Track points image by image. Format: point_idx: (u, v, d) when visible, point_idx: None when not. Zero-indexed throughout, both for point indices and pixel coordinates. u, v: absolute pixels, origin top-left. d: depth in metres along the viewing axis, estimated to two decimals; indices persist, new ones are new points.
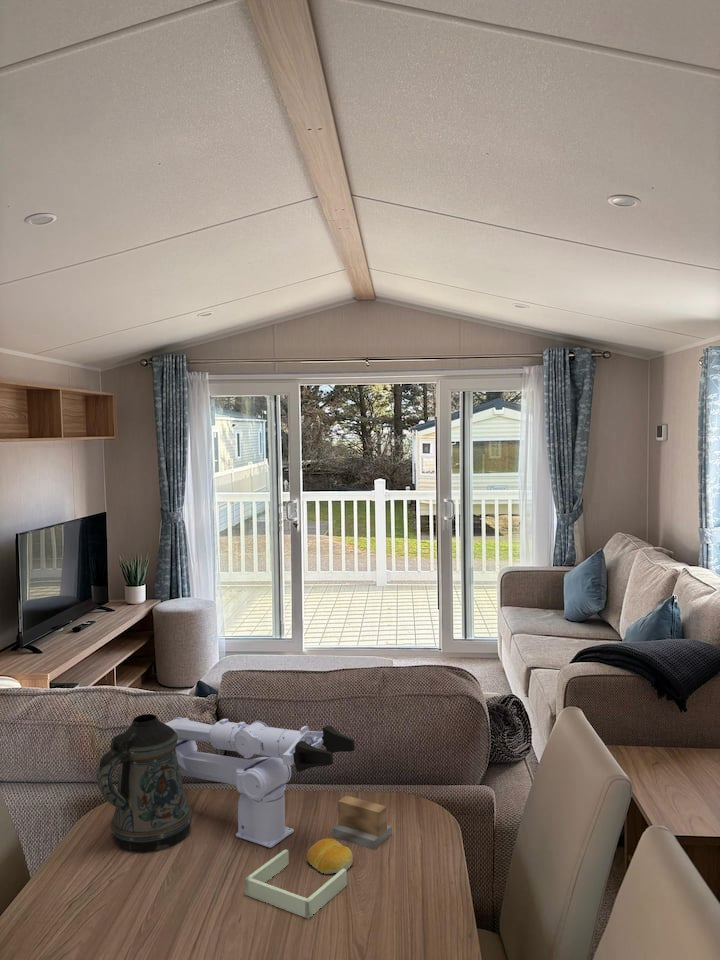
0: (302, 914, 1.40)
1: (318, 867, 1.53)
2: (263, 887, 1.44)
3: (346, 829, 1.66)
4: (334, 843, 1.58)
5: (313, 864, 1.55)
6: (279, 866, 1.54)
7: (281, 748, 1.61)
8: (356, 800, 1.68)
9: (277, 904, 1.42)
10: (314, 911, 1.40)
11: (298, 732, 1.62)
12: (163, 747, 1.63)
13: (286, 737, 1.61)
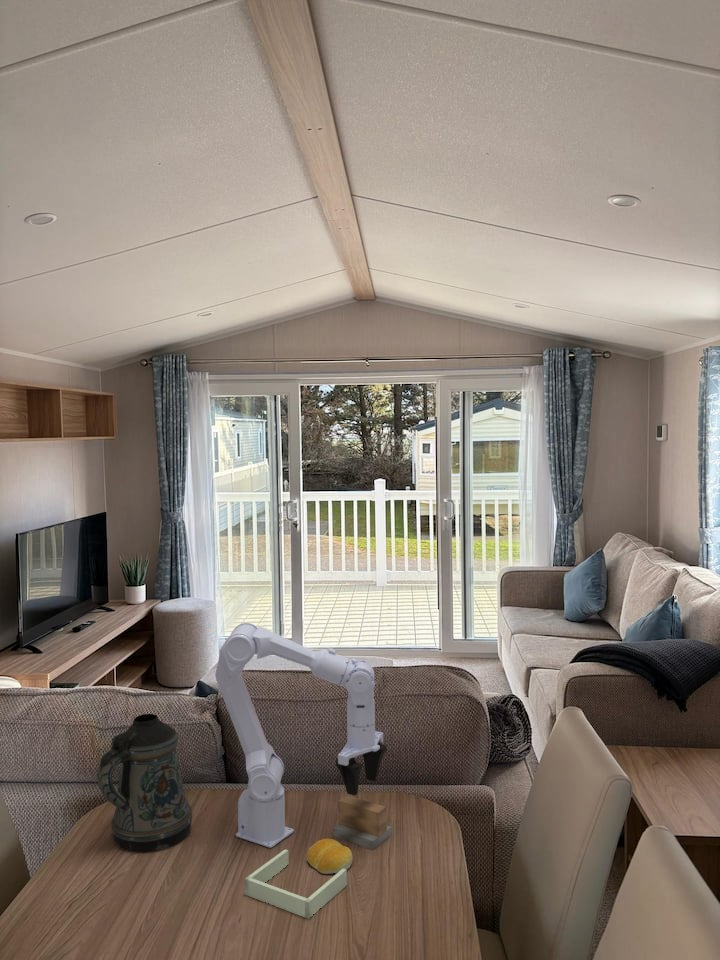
0: (302, 914, 1.40)
1: (318, 867, 1.53)
2: (263, 887, 1.44)
3: (346, 829, 1.66)
4: (334, 843, 1.58)
5: (313, 864, 1.55)
6: (279, 866, 1.54)
7: (354, 730, 1.63)
8: (356, 800, 1.68)
9: (277, 904, 1.42)
10: (314, 911, 1.40)
11: (372, 741, 1.64)
12: (163, 747, 1.64)
13: (365, 733, 1.63)
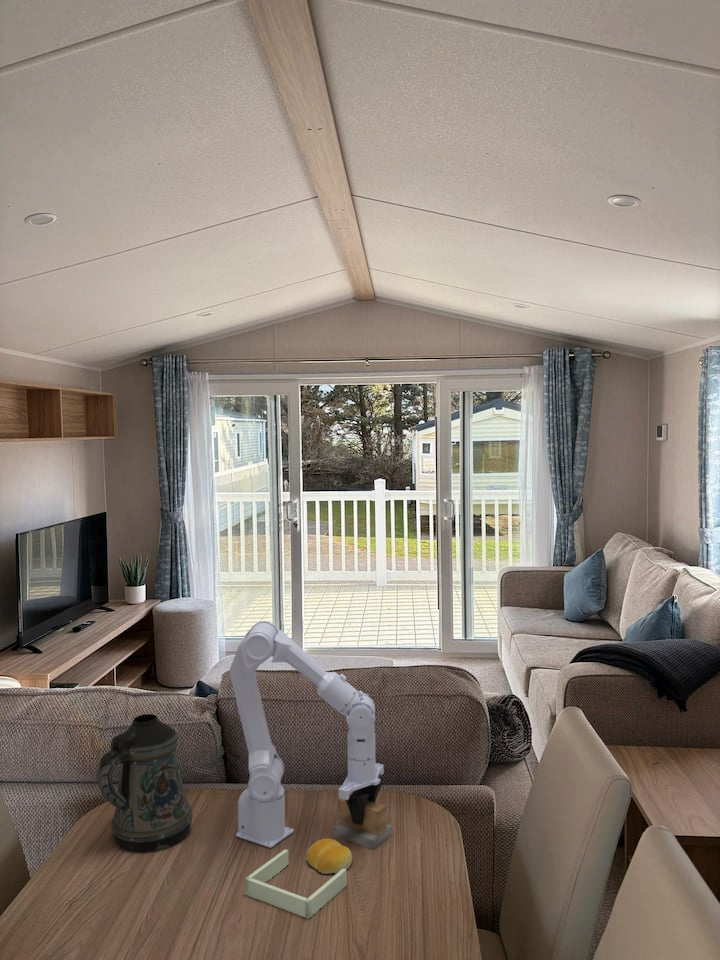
0: (302, 914, 1.40)
1: (318, 867, 1.53)
2: (263, 887, 1.44)
3: (346, 828, 1.66)
4: (333, 843, 1.58)
5: (312, 864, 1.55)
6: (279, 866, 1.54)
7: (355, 764, 1.64)
8: None
9: (277, 904, 1.42)
10: (314, 911, 1.40)
11: (372, 774, 1.65)
12: (163, 747, 1.63)
13: (366, 767, 1.64)
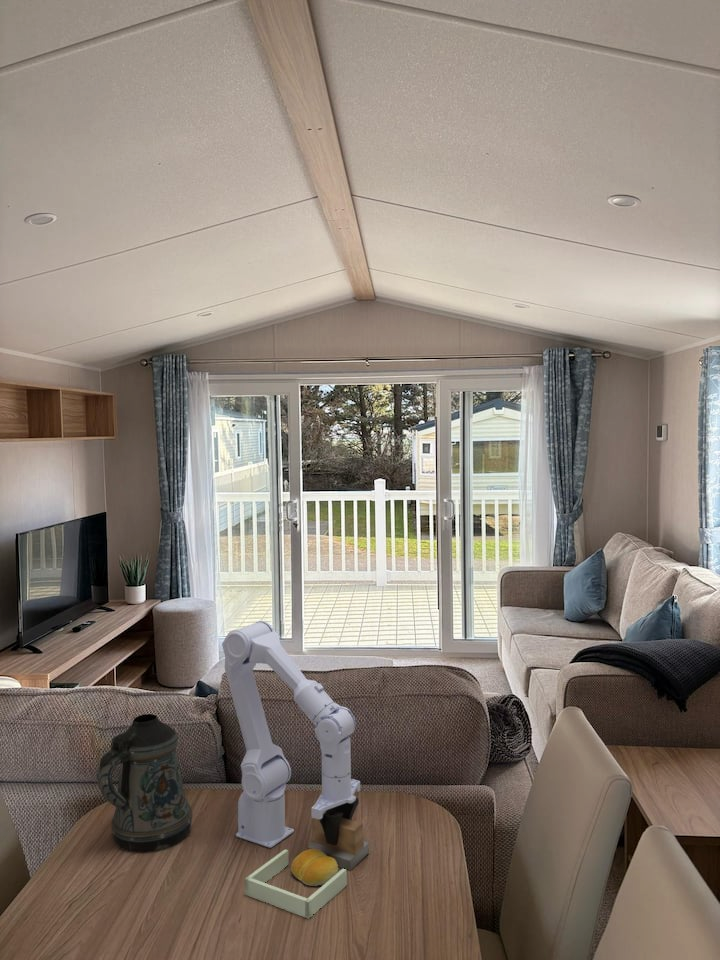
0: (302, 914, 1.40)
1: (303, 878, 1.49)
2: (263, 887, 1.44)
3: (321, 848, 1.58)
4: (319, 854, 1.54)
5: (297, 876, 1.51)
6: (279, 866, 1.54)
7: (329, 781, 1.56)
8: None
9: (277, 904, 1.42)
10: (314, 911, 1.40)
11: (348, 792, 1.57)
12: (163, 747, 1.63)
13: (340, 784, 1.56)
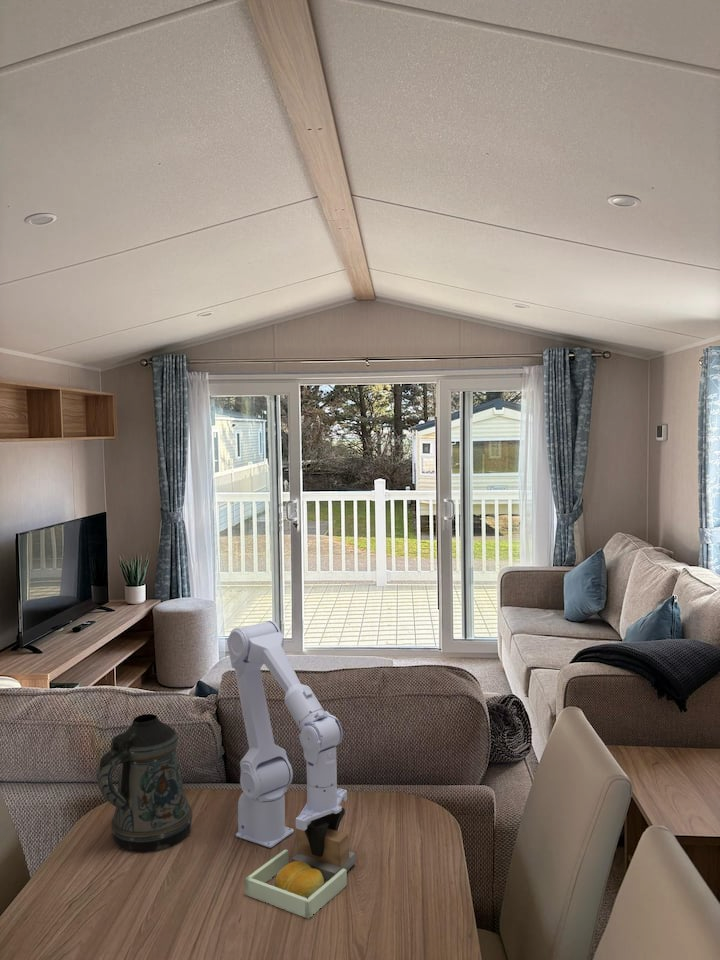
0: (302, 914, 1.40)
1: None
2: (263, 887, 1.44)
3: (306, 859, 1.54)
4: (303, 866, 1.50)
5: None
6: (279, 866, 1.54)
7: (314, 791, 1.52)
8: None
9: (277, 904, 1.42)
10: (314, 911, 1.40)
11: (333, 802, 1.53)
12: (163, 747, 1.63)
13: (326, 794, 1.51)
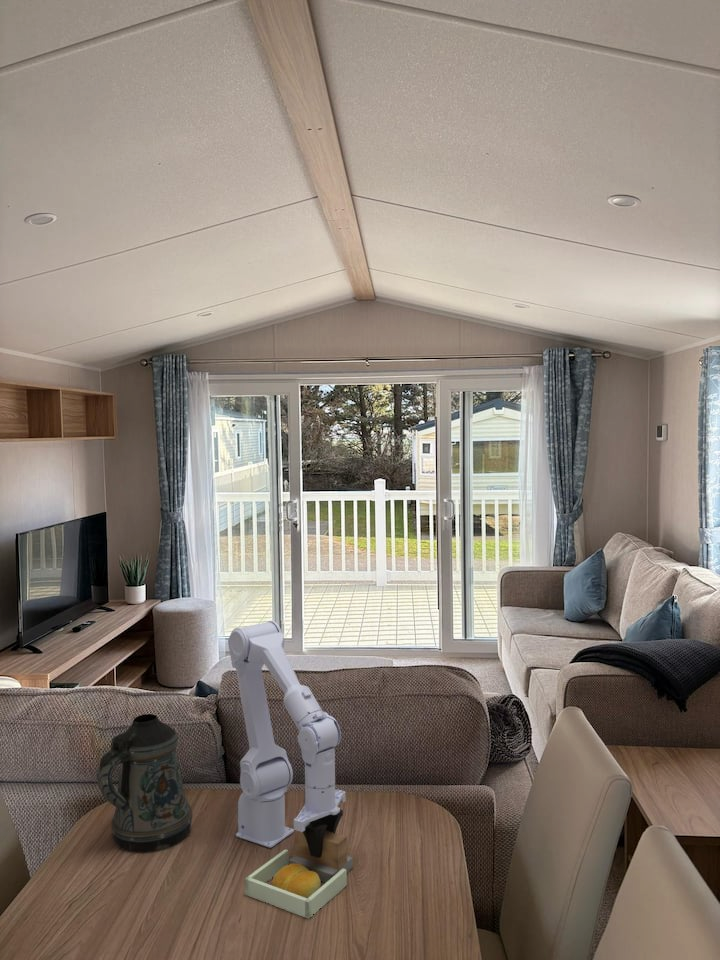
0: (302, 914, 1.40)
1: None
2: (263, 887, 1.44)
3: (303, 861, 1.54)
4: (300, 868, 1.49)
5: None
6: (279, 866, 1.54)
7: (312, 792, 1.51)
8: None
9: (277, 904, 1.42)
10: (314, 911, 1.40)
11: (331, 803, 1.52)
12: (163, 747, 1.63)
13: (324, 796, 1.51)
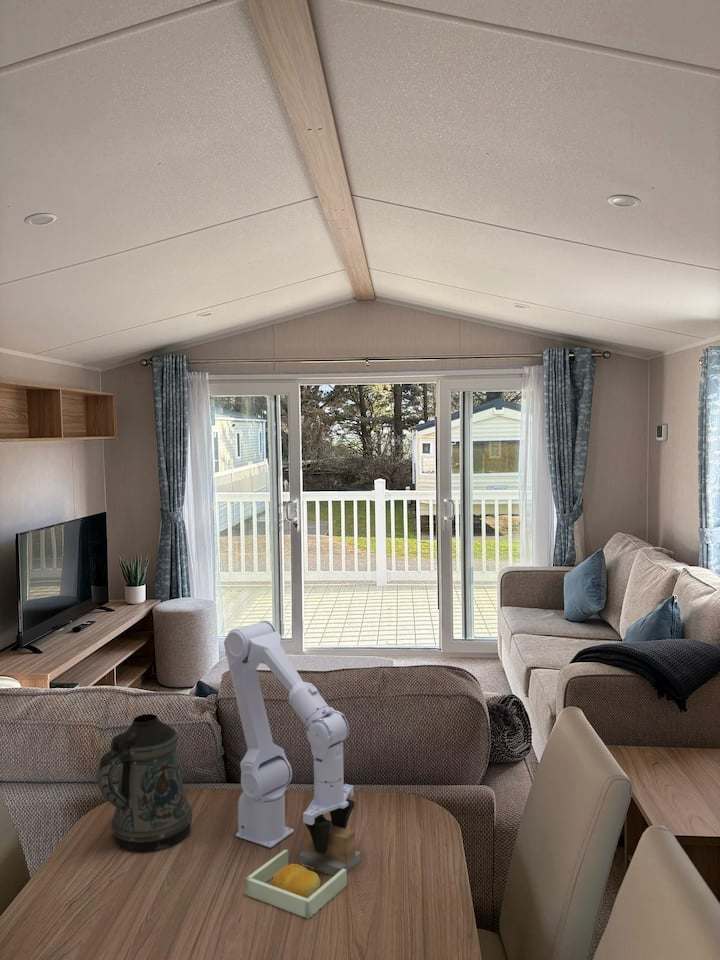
0: (302, 914, 1.40)
1: None
2: (263, 887, 1.44)
3: (312, 856, 1.56)
4: (300, 868, 1.49)
5: None
6: (279, 866, 1.54)
7: (321, 786, 1.54)
8: None
9: (277, 904, 1.42)
10: (314, 911, 1.40)
11: (340, 797, 1.55)
12: (163, 747, 1.63)
13: (333, 789, 1.53)
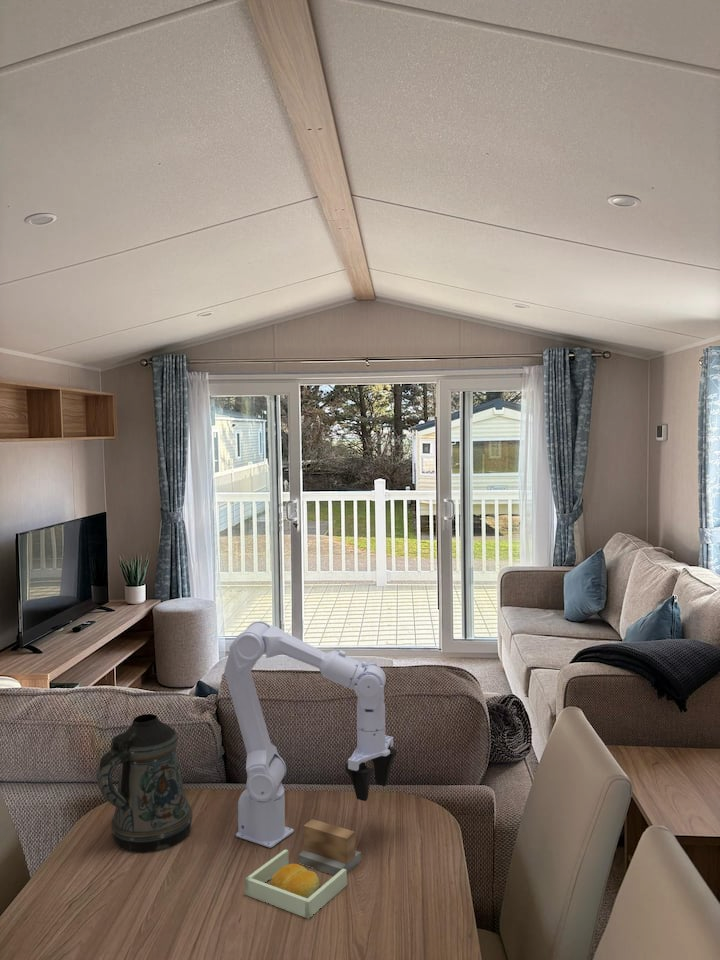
0: (302, 914, 1.40)
1: None
2: (263, 887, 1.44)
3: (312, 856, 1.56)
4: (299, 868, 1.49)
5: None
6: (279, 866, 1.54)
7: (364, 734, 1.61)
8: (323, 824, 1.58)
9: (277, 904, 1.42)
10: (314, 911, 1.40)
11: (382, 745, 1.62)
12: (163, 747, 1.63)
13: (375, 738, 1.61)
